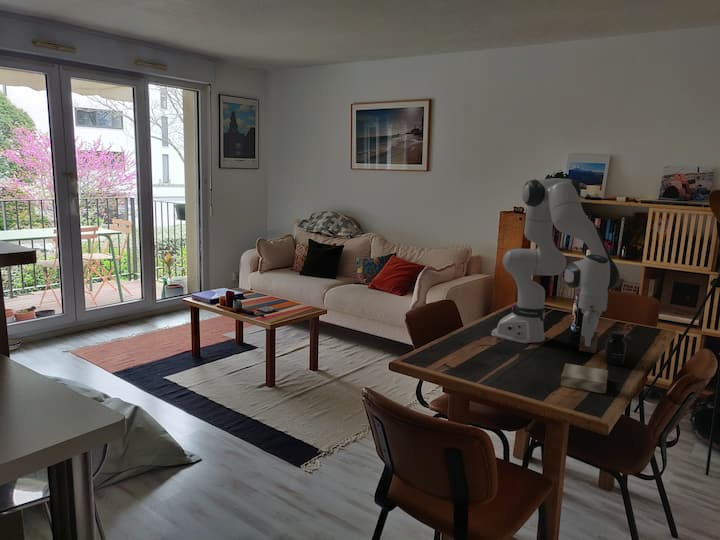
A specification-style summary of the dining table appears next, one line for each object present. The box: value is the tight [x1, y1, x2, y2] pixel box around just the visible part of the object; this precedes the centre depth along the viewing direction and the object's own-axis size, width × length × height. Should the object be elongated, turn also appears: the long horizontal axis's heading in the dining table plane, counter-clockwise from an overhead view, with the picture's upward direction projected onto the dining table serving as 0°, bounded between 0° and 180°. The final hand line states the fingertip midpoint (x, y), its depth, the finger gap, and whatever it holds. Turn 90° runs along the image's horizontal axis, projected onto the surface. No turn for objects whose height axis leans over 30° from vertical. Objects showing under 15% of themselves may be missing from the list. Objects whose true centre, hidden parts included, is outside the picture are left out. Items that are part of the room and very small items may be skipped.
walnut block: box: [578, 331, 599, 354], centre depth 185 cm, size 5×5×6 cm
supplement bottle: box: [603, 330, 627, 366], centre depth 208 cm, size 7×7×12 cm
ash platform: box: [560, 363, 609, 395], centre depth 188 cm, size 14×14×4 cm
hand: (588, 343), depth 186 cm, fingers closed on walnut block, 5 cm apart
